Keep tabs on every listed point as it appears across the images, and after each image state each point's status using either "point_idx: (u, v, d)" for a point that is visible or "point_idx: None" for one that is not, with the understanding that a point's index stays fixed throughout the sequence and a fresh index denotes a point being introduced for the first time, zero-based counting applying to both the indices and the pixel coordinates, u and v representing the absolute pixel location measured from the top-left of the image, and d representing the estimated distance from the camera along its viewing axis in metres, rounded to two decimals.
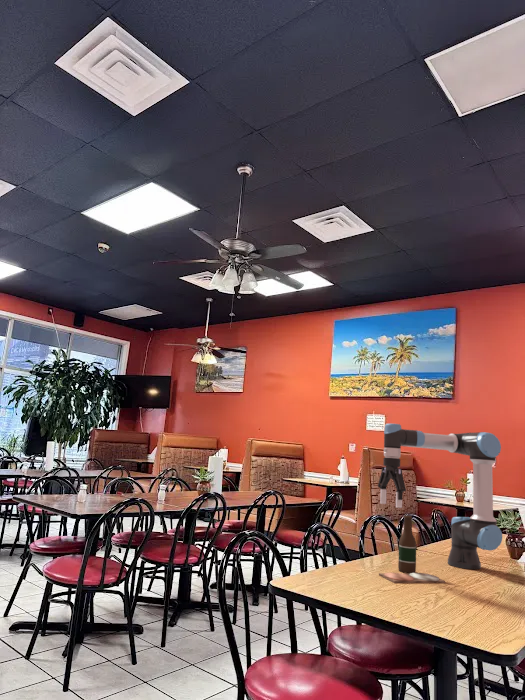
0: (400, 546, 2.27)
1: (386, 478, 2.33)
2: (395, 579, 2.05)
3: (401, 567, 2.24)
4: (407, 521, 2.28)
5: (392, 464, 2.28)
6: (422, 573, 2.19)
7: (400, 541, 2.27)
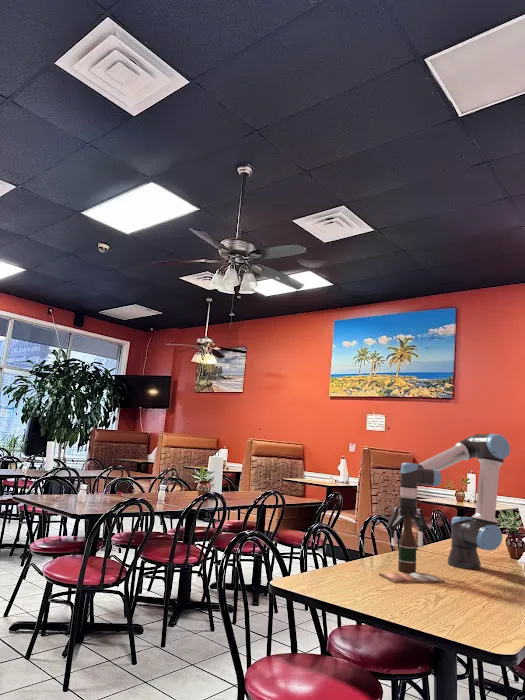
0: (400, 546, 2.27)
1: None
2: (395, 579, 2.05)
3: (401, 567, 2.24)
4: (407, 521, 2.28)
5: None
6: (422, 573, 2.19)
7: (400, 541, 2.27)
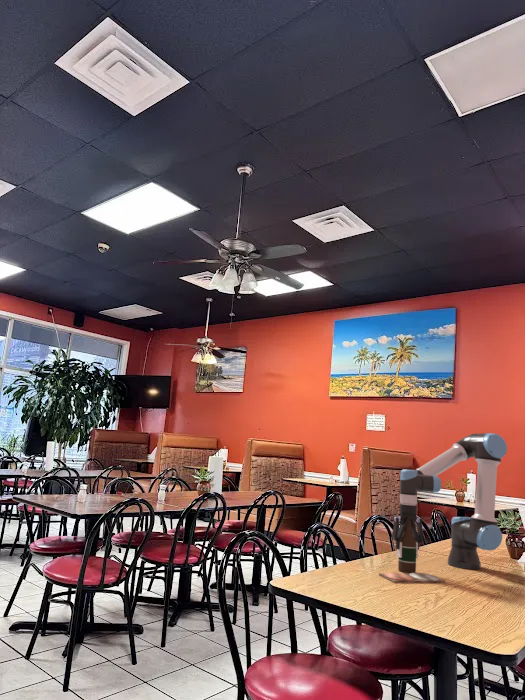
0: None
1: None
2: (395, 579, 2.05)
3: (401, 567, 2.24)
4: None
5: None
6: (422, 573, 2.19)
7: (400, 541, 2.27)
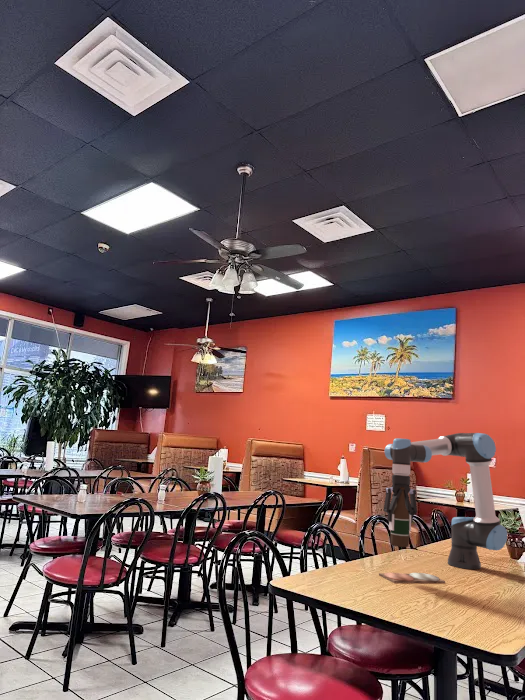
0: None
1: None
2: (395, 579, 2.05)
3: (394, 540, 2.11)
4: None
5: (392, 481, 2.18)
6: (422, 573, 2.19)
7: (392, 513, 2.14)
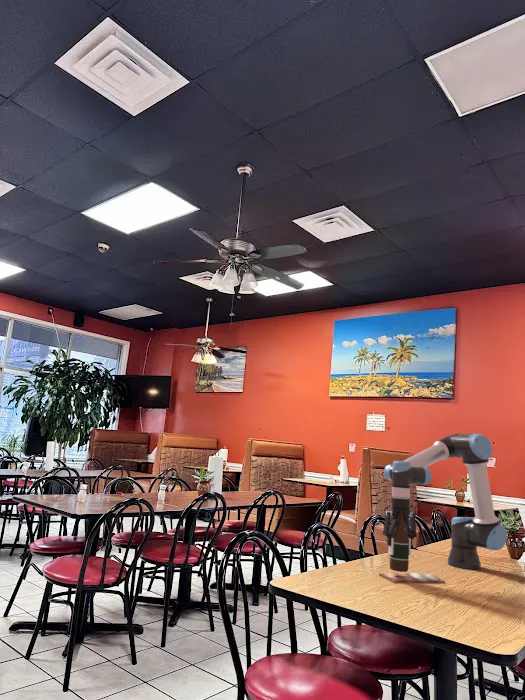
0: None
1: None
2: (395, 579, 2.05)
3: (393, 565, 2.09)
4: None
5: (391, 504, 2.16)
6: (422, 573, 2.19)
7: (392, 537, 2.12)
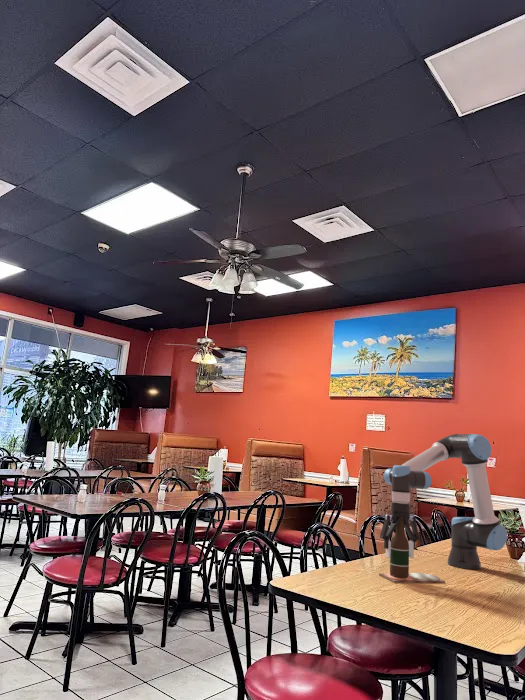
0: (392, 548, 2.11)
1: (404, 526, 2.15)
2: (395, 579, 2.05)
3: (393, 571, 2.09)
4: None
5: (391, 508, 2.16)
6: (422, 573, 2.19)
7: (392, 543, 2.12)
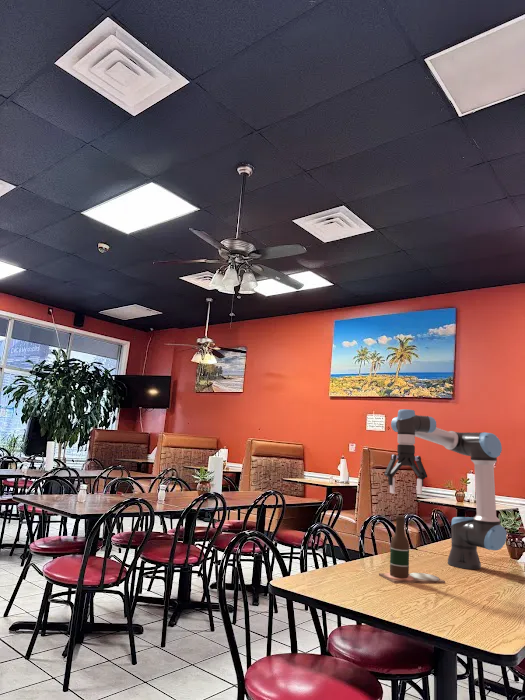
0: (392, 548, 2.11)
1: (411, 466, 2.25)
2: (395, 579, 2.05)
3: (393, 571, 2.09)
4: (399, 522, 2.13)
5: (397, 450, 2.25)
6: (422, 573, 2.19)
7: (392, 543, 2.12)
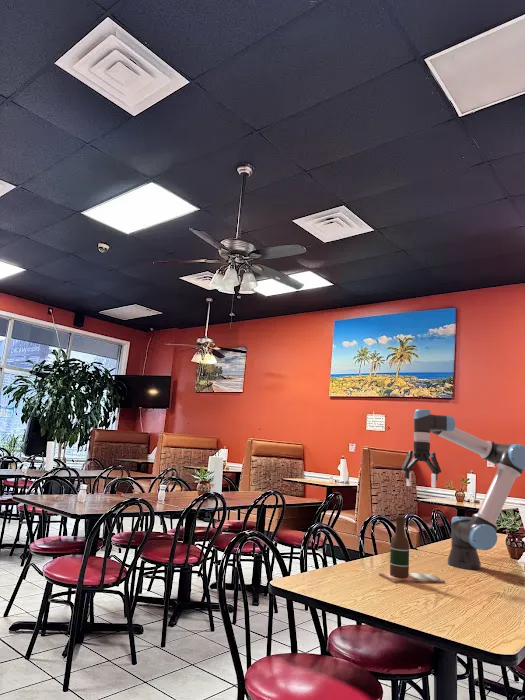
0: (392, 548, 2.11)
1: (426, 462, 2.44)
2: (395, 579, 2.05)
3: (393, 571, 2.09)
4: (399, 522, 2.13)
5: None
6: (422, 573, 2.19)
7: (392, 543, 2.12)
